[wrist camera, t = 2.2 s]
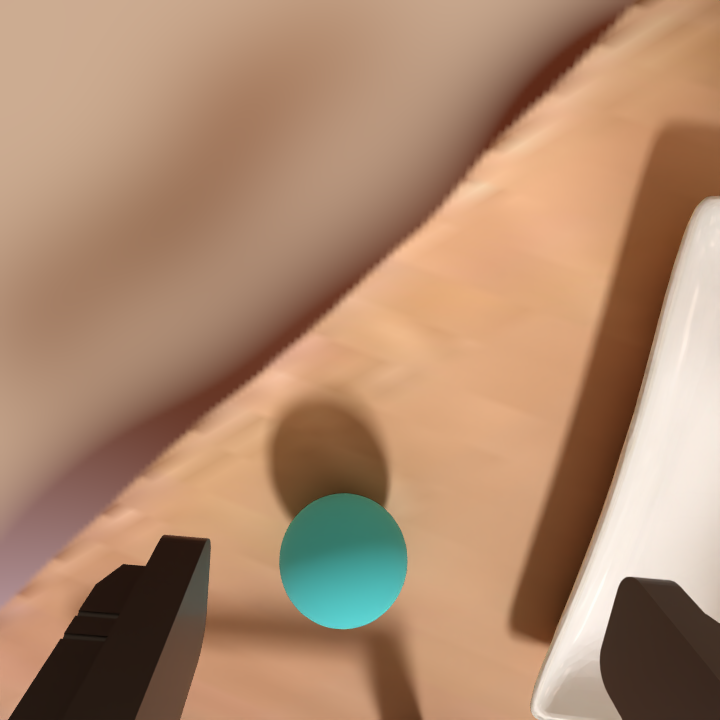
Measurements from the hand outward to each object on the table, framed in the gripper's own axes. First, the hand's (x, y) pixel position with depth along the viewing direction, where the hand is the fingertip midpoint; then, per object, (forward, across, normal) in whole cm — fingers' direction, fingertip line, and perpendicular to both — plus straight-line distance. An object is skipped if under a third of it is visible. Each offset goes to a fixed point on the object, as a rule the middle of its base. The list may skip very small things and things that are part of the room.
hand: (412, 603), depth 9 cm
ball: (+15, 0, +10) cm, 18 cm away
